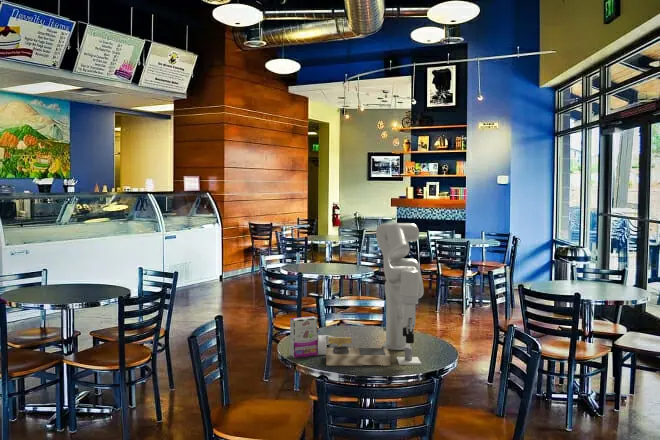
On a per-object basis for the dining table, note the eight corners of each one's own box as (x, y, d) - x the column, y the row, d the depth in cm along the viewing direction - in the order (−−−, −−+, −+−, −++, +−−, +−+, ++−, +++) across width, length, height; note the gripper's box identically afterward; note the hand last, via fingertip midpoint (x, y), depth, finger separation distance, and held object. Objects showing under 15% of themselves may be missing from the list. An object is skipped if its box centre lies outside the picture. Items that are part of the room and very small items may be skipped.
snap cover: (398, 365, 242) (399, 350, 242) (396, 359, 251) (396, 345, 251) (420, 365, 242) (421, 350, 242) (417, 359, 251) (417, 345, 251)
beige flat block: (326, 365, 240) (326, 351, 240) (326, 357, 252) (326, 344, 252) (390, 365, 241) (390, 352, 240) (387, 357, 253) (387, 344, 252)
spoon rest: (308, 342, 279) (308, 326, 279) (333, 341, 280) (333, 326, 279) (309, 355, 255) (309, 339, 255) (336, 355, 256) (336, 339, 256)
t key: (351, 350, 264) (351, 336, 264) (351, 352, 260) (351, 338, 260) (328, 350, 264) (328, 336, 263) (328, 352, 260) (328, 338, 259)
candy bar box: (313, 352, 259) (313, 315, 258) (318, 355, 254) (318, 317, 254) (289, 355, 254) (289, 317, 254) (293, 358, 250) (294, 320, 249)
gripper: (397, 294, 254) (396, 333, 256) (402, 304, 237) (401, 345, 239) (414, 294, 254) (413, 333, 256) (421, 304, 237) (420, 345, 239)
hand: (408, 339), depth 247 cm, fingers open, 9 cm apart
